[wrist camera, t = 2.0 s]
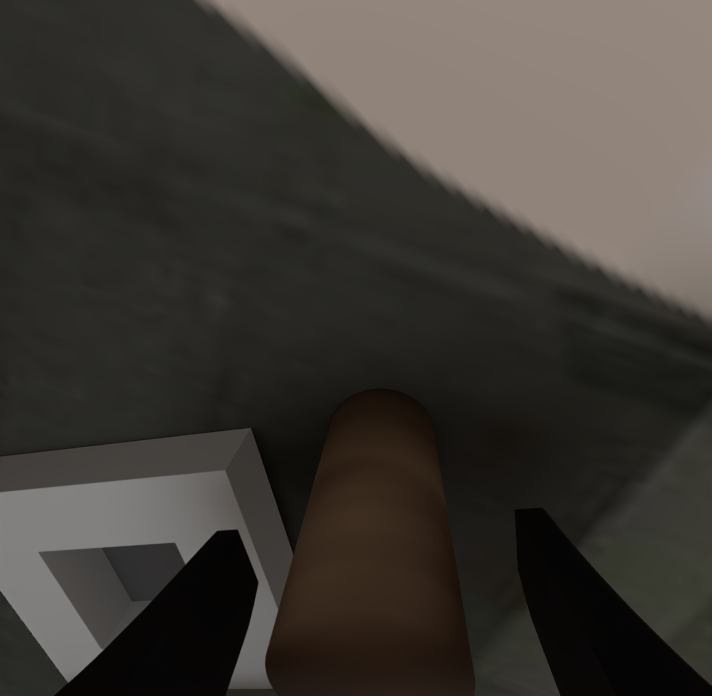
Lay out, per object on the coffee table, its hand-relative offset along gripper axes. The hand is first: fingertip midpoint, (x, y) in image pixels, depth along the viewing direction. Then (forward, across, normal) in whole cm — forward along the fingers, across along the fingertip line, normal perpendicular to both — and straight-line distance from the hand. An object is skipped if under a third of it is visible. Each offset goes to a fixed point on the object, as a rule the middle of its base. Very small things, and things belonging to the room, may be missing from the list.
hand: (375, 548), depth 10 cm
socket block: (+5, +11, +5) cm, 13 cm away
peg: (+5, 0, 0) cm, 5 cm away
